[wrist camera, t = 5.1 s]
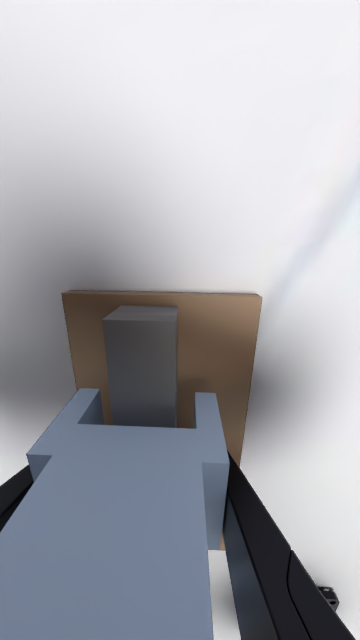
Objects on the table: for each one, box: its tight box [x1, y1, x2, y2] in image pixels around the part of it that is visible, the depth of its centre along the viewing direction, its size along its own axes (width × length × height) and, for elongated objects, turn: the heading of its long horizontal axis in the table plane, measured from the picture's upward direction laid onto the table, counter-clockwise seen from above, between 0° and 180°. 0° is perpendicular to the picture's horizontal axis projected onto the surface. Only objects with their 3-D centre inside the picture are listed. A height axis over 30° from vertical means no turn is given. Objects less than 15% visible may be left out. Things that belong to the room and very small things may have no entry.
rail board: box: [61, 290, 262, 551], centre depth 11 cm, size 18×9×3 cm, turn 179°
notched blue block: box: [0, 388, 230, 640], centre depth 6 cm, size 4×6×7 cm, turn 89°
